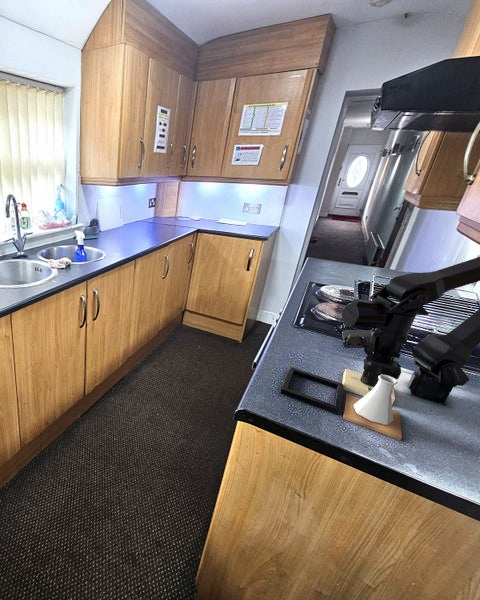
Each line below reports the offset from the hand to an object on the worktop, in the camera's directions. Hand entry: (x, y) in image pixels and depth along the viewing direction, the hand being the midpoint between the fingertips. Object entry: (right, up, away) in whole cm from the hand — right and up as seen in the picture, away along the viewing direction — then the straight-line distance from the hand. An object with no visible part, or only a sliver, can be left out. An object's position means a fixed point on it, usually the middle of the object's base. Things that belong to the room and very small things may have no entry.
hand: (369, 381), depth 85 cm
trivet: (-7, -6, -8) cm, 12 cm away
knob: (0, 0, 0) cm, 0 cm away
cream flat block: (0, -2, +1) cm, 2 cm away
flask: (-7, -6, -8) cm, 12 cm away
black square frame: (-15, -3, 0) cm, 15 cm away
